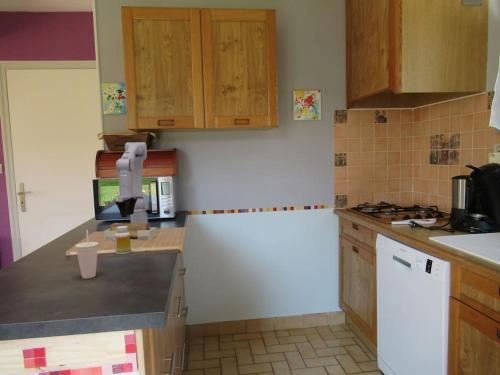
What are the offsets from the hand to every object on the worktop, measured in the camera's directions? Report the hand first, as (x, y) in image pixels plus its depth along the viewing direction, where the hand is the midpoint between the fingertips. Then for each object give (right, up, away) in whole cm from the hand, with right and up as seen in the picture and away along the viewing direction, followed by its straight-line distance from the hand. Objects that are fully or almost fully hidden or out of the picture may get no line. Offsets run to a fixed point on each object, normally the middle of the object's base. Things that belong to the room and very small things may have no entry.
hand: (127, 215), depth 156 cm
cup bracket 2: (+9, -10, -2) cm, 13 cm away
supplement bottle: (+8, -12, -26) cm, 30 cm away
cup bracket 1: (-5, -10, -1) cm, 11 cm away
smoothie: (+7, -14, -53) cm, 55 cm away
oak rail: (+2, -8, -2) cm, 9 cm away
